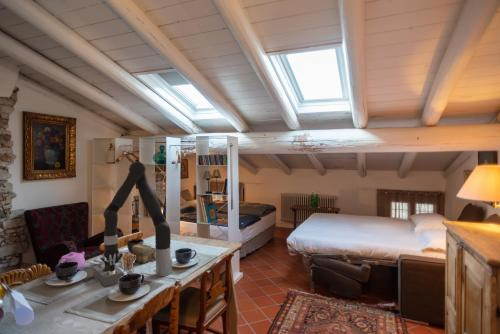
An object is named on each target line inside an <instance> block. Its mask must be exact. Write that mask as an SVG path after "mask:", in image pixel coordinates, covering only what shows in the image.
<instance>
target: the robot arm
mask: <svg viewBox="0 0 500 334" xmlns="http://www.w3.org/2000/svg"><path fill="white" fill-rule="evenodd" d="M146 170H147V169H146V165H145V164H144V163H143V162H141V161H134V162H132V163H130V164H129V167H128V173H127V177H125V180H124V182H123V183H122V184H121V186H119V189H118V190H117V191H116V193H115V195H114V196H113V198H112V200H111V202H110V203H109V205H107V207H106V208H105V210H104V211H103V215H102V216H103V218H104V229H103V230H104V232H103V233H104V235H103V236H104V237H103V244H104V246H103V248H104V249H103V250H104V251H103V252H104V253H103V255H104V256H103V255H102V256H101V257H99V259H100V260H101V261H102V262H103V264H104V263H105V264H106V265H109V270H110V271H114V269H115V266H116V264H117V263H119V261H120V260H121V258H122V257H123V256H124V255H123V253H122V252H120V251H119V236H118V219H119V218H118V217H119V216H118V212H119V211H120V210H121V208H123V206H124V205H125V203H126V202H127V200H128V198H129V197H130V194H131V192H132V190H133V188H134V187H135V185H136V188H137V191H138V193H139V197H140V199H141V201H142V204H143V206H144V208H145V210H146V212H147V213H148V215H149V216H150V218H151V220H152V223H153V226H154V232H155V235H154V237H155V238H154V239H155V243H154V244H155V247H154V248H155V250H156V261H155V276H157V277H166V276H169V275H171V274H172V273H173V258H171V227H170V225H169V223H168V222H167V220H166V218H165V215H164V214H163V211H162V208H161V204H160V201H159V199H158V195H157V194H156V191H155V189H153V186H152V185H151V183H150V182H149V180H148V178H147V175H146ZM105 257H106V258H107V259H108V262H106V261H107V260H106V258H105ZM116 257H117V258H116ZM115 258H116V259H115Z"/></svg>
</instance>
